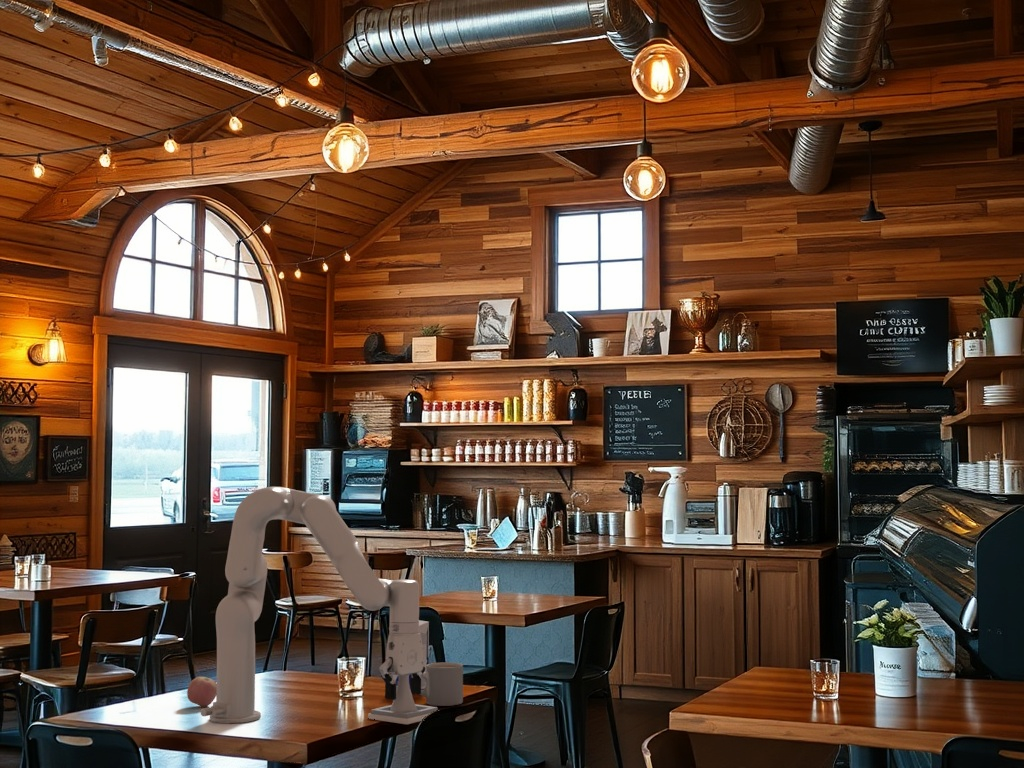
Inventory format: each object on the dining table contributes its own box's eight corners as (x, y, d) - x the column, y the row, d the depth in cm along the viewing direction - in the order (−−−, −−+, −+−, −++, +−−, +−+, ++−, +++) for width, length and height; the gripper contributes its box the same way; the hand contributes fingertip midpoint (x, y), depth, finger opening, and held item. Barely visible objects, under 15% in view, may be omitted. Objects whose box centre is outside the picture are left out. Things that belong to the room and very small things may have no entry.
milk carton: (429, 691, 342) (429, 620, 344) (410, 694, 338) (410, 622, 339) (413, 688, 348) (414, 618, 349) (395, 691, 343) (395, 620, 345)
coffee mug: (460, 698, 331) (460, 661, 332) (464, 705, 322) (464, 667, 323) (412, 700, 329) (412, 663, 330) (415, 706, 320) (415, 668, 320)
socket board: (407, 724, 296) (407, 715, 296) (368, 718, 304) (368, 709, 304) (440, 716, 307) (440, 707, 307) (401, 710, 314) (401, 702, 314)
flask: (420, 710, 308) (420, 670, 309) (414, 715, 301) (415, 675, 302) (392, 709, 309) (392, 670, 310) (386, 715, 302) (386, 674, 303)
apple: (200, 711, 315) (201, 680, 316) (180, 708, 319) (181, 677, 320) (223, 706, 322) (223, 675, 322) (203, 703, 326) (203, 673, 326)
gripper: (392, 633, 298) (391, 703, 296) (436, 626, 312) (436, 693, 310) (370, 630, 302) (369, 699, 301) (414, 624, 316) (414, 690, 315)
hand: (403, 696), depth 305 cm, fingers open, 9 cm apart
